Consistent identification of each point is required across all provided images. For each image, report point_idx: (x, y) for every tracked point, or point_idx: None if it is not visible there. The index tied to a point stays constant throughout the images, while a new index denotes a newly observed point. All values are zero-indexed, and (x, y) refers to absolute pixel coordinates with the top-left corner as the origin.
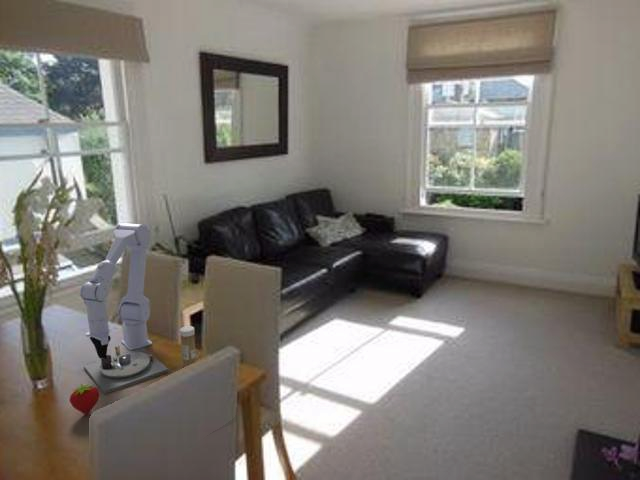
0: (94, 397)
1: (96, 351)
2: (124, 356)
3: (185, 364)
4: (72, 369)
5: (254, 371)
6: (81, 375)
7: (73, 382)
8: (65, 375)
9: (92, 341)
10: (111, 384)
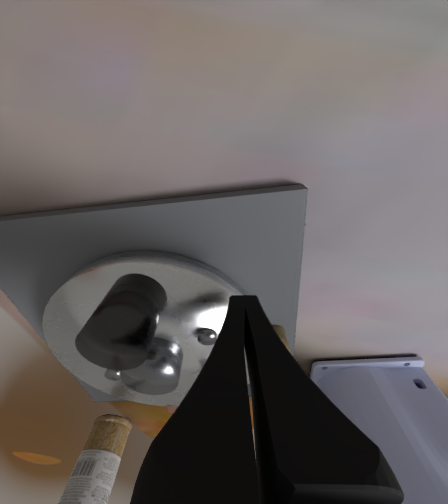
0: None
1: (263, 321)
2: (159, 381)
3: (95, 430)
4: (348, 113)
5: (47, 463)
6: (224, 153)
7: (154, 84)
8: (295, 41)
9: (150, 501)
10: (17, 265)
